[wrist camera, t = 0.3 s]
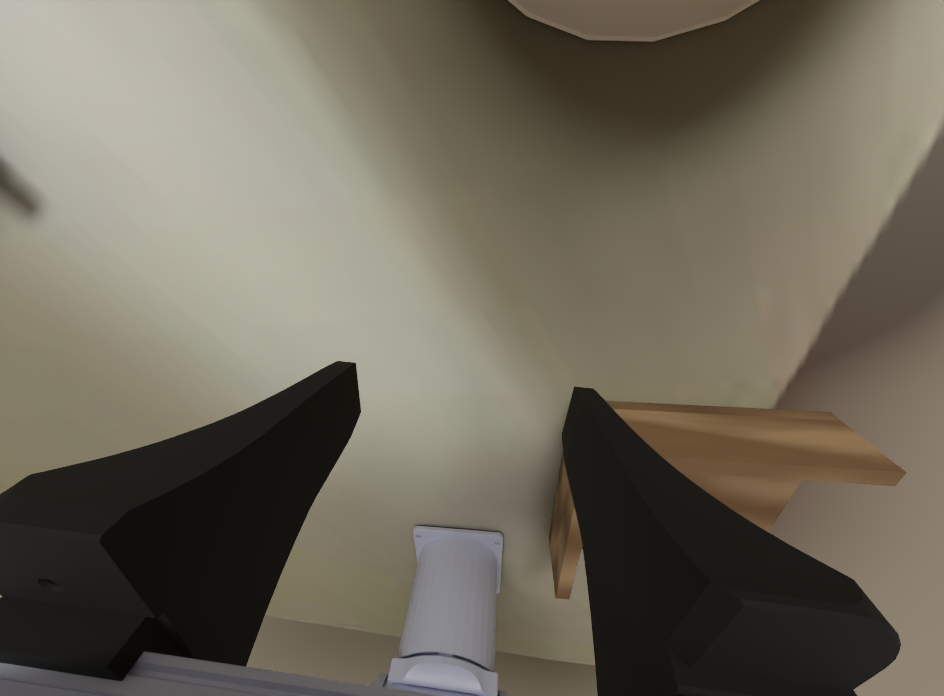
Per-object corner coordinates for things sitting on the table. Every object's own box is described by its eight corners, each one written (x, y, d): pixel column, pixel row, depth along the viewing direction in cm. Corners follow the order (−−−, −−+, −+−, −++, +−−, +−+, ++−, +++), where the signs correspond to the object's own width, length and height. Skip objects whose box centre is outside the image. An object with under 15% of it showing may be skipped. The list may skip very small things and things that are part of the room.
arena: (742, 552, 29) (782, 619, 25) (548, 537, 30) (555, 598, 26) (830, 412, 22) (906, 472, 18) (571, 399, 23) (585, 453, 19)
